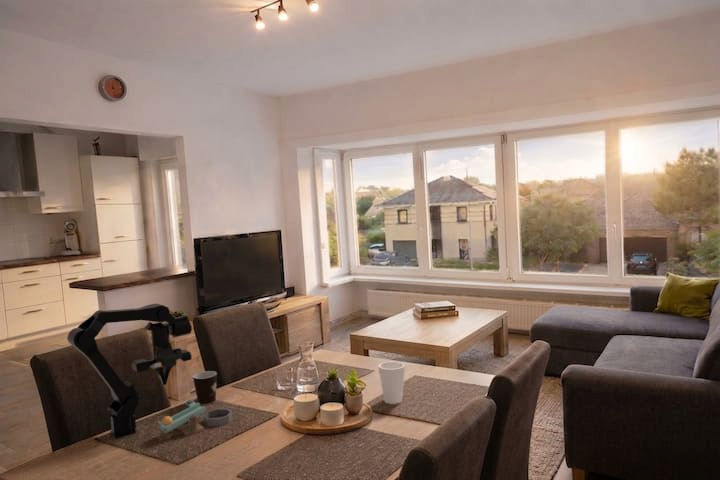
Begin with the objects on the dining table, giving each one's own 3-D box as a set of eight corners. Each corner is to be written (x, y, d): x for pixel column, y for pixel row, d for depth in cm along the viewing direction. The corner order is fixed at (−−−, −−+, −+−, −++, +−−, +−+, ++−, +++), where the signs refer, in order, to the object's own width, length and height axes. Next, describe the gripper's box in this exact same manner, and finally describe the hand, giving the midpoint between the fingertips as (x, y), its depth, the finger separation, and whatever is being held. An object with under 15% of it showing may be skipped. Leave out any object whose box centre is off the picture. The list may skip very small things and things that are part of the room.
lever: (165, 434, 167) (163, 426, 166) (151, 421, 177) (149, 414, 177) (207, 411, 175) (204, 404, 175) (191, 400, 186) (189, 394, 185)
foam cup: (406, 405, 186) (405, 369, 185) (380, 406, 186) (378, 370, 185) (405, 395, 195) (403, 360, 194) (380, 396, 195) (378, 361, 194)
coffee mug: (204, 406, 194) (202, 380, 193) (190, 402, 199) (188, 376, 198) (229, 396, 203) (228, 371, 202) (215, 392, 208) (213, 367, 207)
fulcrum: (163, 443, 165) (162, 427, 164) (154, 435, 171) (153, 419, 171) (203, 430, 173) (202, 415, 173) (193, 422, 180) (192, 408, 179)
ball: (165, 429, 168) (162, 420, 167) (162, 426, 170) (159, 417, 170) (175, 425, 170) (172, 416, 169) (171, 422, 172) (169, 413, 172)
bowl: (211, 428, 174) (210, 421, 174) (200, 420, 181) (200, 413, 181) (235, 420, 180) (235, 413, 180) (224, 413, 187) (224, 406, 187)
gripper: (140, 350, 171) (144, 398, 172) (196, 338, 182) (199, 383, 184) (129, 344, 179) (133, 389, 180) (183, 333, 191) (187, 375, 192)
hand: (164, 384), depth 184 cm, fingers closed
